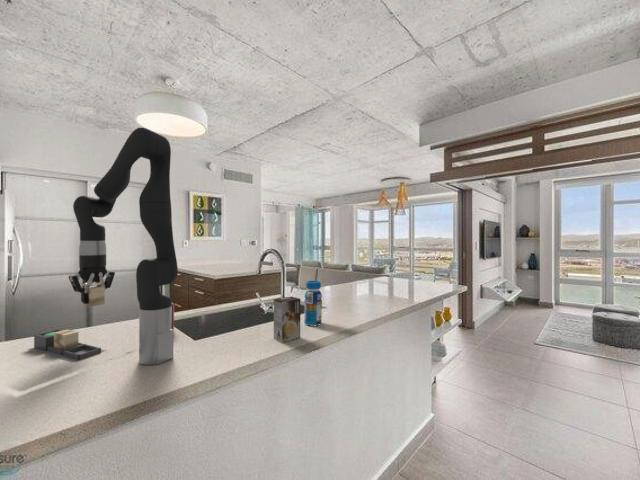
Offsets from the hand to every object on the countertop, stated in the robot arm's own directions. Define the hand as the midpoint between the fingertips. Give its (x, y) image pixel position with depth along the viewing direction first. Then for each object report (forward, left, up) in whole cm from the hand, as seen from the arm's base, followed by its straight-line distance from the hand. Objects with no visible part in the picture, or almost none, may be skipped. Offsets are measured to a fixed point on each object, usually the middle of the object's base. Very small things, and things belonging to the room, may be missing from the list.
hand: (93, 302), depth 102 cm
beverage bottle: (-59, -60, -17) cm, 86 cm away
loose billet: (0, 0, -1) cm, 1 cm away
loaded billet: (+5, +5, -16) cm, 17 cm away
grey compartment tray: (+5, +5, -17) cm, 18 cm away
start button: (+13, +5, -14) cm, 20 cm away
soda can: (-7, -23, -17) cm, 30 cm away
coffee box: (-57, -38, -17) cm, 71 cm away
